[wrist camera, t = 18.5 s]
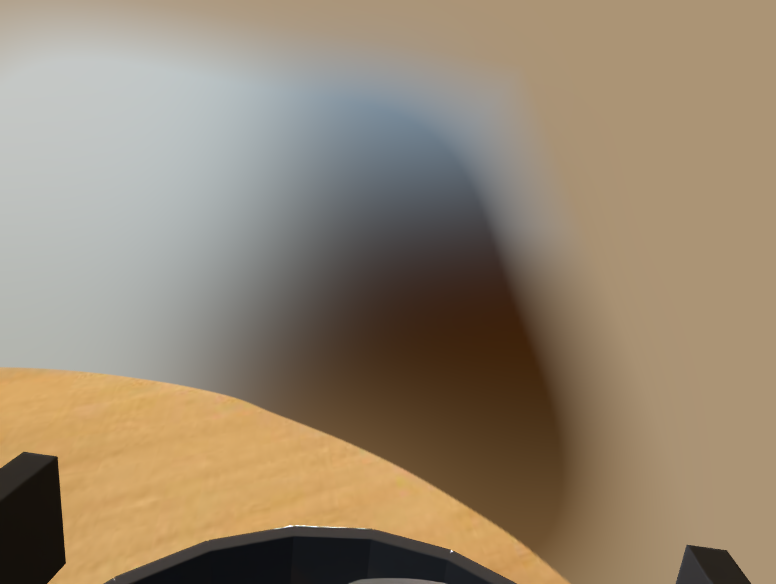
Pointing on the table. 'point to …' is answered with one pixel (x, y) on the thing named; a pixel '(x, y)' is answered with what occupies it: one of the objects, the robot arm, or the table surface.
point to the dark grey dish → (310, 560)
